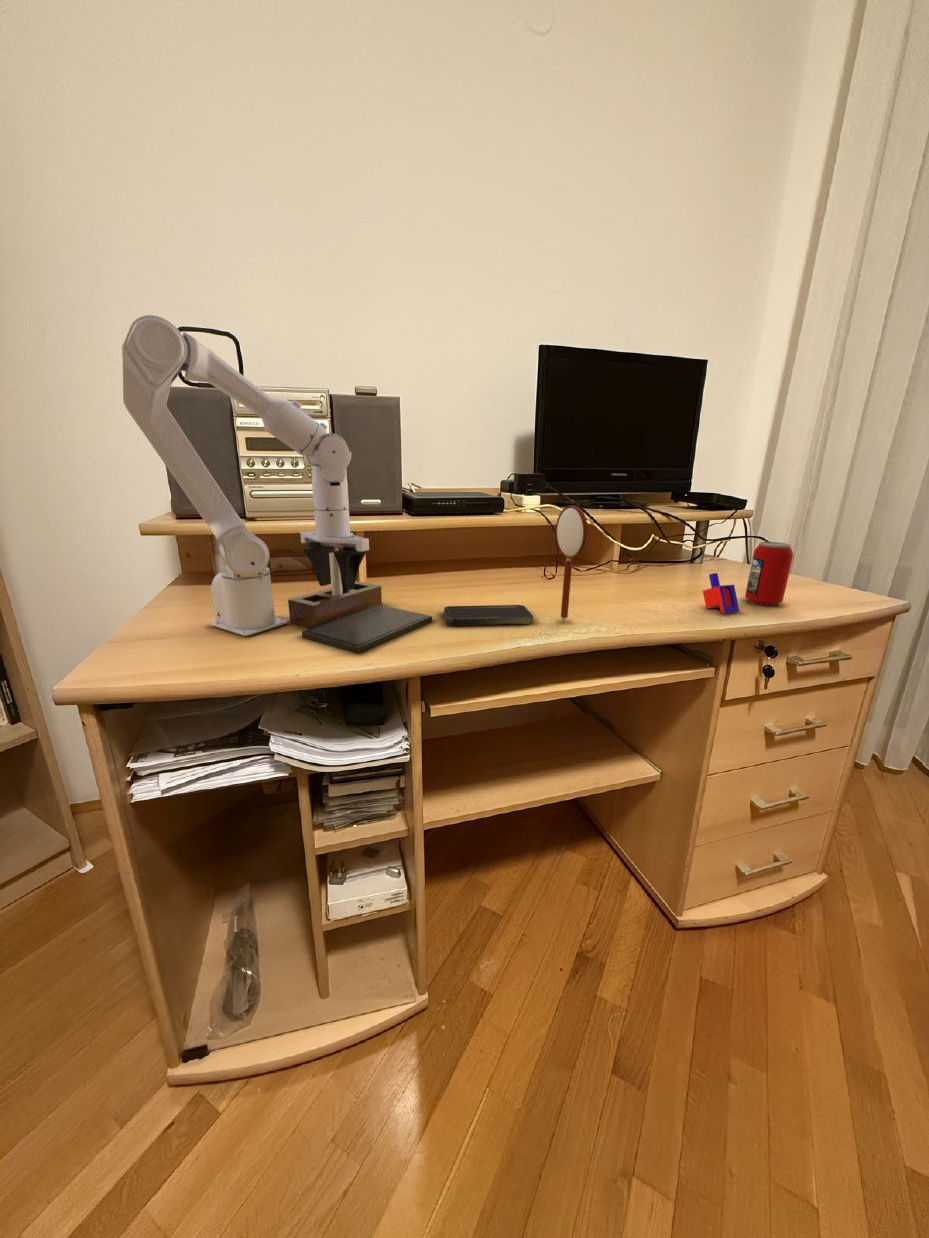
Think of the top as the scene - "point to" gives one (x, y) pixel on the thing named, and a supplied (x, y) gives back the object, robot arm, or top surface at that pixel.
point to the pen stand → (333, 604)
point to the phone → (487, 615)
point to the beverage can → (769, 573)
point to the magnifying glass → (570, 545)
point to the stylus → (335, 576)
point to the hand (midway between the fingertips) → (336, 587)
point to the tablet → (367, 628)
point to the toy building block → (721, 596)
